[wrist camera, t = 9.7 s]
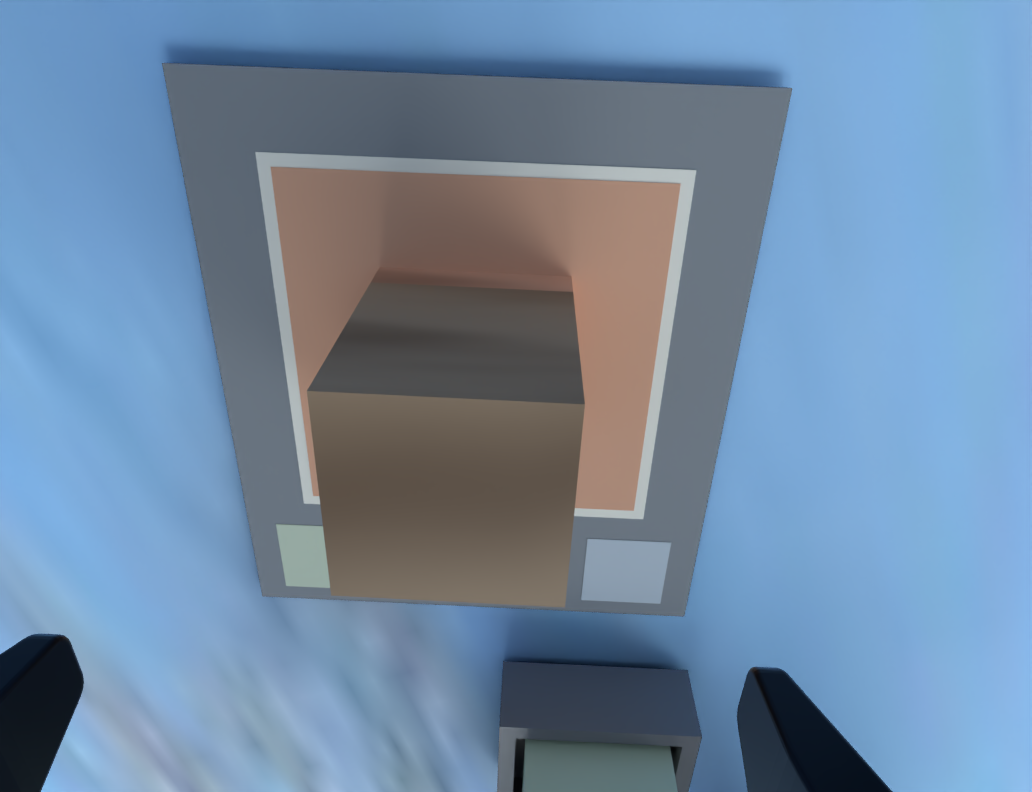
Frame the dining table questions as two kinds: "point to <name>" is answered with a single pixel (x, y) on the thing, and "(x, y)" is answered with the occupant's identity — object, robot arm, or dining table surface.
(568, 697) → the button housing
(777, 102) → the picture mat
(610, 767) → the button
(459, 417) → the block
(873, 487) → the dining table surface
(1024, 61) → the dining table surface
